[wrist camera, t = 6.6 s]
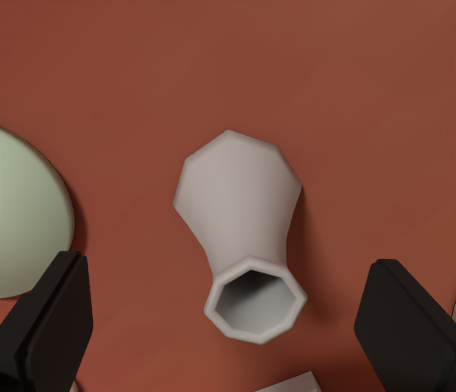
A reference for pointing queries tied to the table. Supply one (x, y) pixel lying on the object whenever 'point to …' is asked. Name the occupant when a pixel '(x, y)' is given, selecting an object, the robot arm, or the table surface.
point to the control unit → (295, 384)
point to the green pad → (30, 215)
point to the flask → (244, 233)
